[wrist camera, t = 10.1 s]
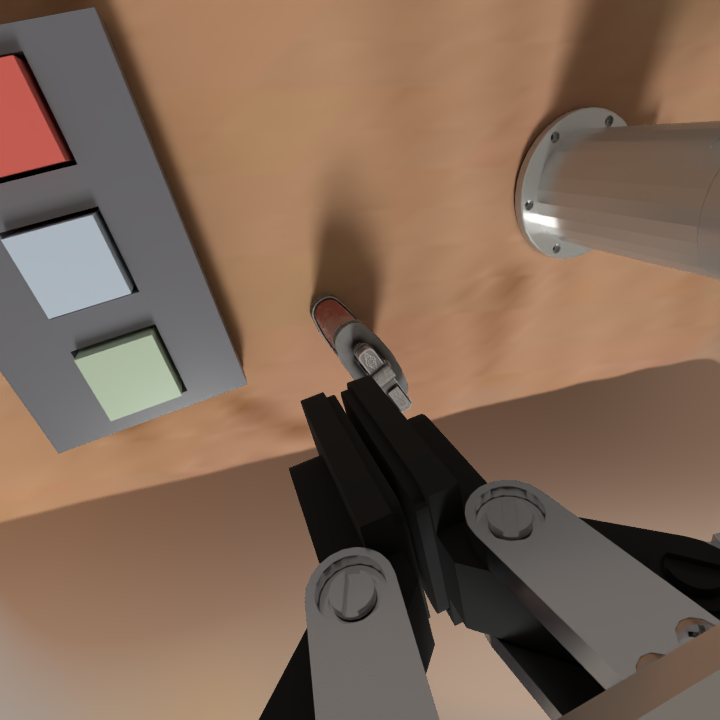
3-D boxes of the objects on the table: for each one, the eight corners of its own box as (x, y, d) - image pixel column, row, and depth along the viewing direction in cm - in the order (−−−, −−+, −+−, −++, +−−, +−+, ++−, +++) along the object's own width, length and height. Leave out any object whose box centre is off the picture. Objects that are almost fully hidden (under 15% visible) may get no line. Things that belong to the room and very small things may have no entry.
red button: (32, 65, 26) (13, 55, 23) (77, 159, 28) (65, 160, 25) (-65, 85, 25) (-98, 77, 22) (-10, 181, 27) (-33, 184, 24)
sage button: (154, 318, 33) (151, 334, 31) (182, 375, 36) (181, 395, 33) (84, 341, 32) (74, 360, 30) (117, 398, 35) (110, 421, 32)
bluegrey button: (101, 208, 30) (92, 214, 27) (136, 280, 32) (131, 293, 29) (19, 230, 29) (0, 240, 26) (61, 303, 31) (48, 319, 28)
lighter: (300, 310, 38) (334, 357, 29) (332, 285, 38) (376, 324, 29) (352, 375, 42) (396, 433, 33) (381, 352, 42) (432, 404, 33)
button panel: (103, 20, 27) (94, 6, 24) (243, 368, 38) (247, 384, 35) (-173, 74, 24) (-216, 65, 21) (67, 431, 35) (58, 453, 33)
